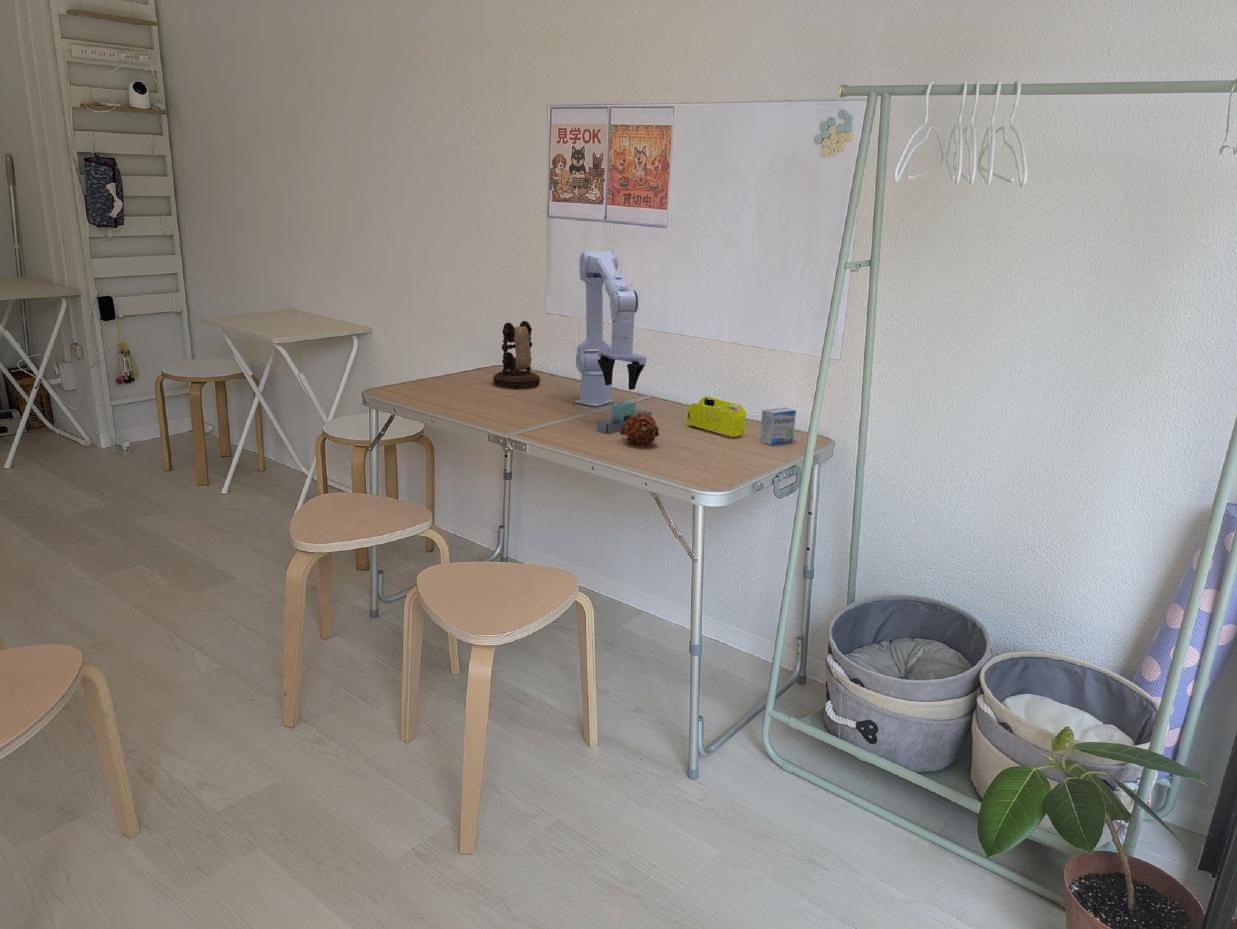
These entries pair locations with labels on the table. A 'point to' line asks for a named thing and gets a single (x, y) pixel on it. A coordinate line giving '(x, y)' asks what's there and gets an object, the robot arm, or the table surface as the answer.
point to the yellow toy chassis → (717, 416)
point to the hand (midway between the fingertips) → (620, 387)
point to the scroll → (517, 357)
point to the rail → (615, 424)
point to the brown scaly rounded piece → (640, 429)
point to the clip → (623, 410)
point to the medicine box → (777, 426)
